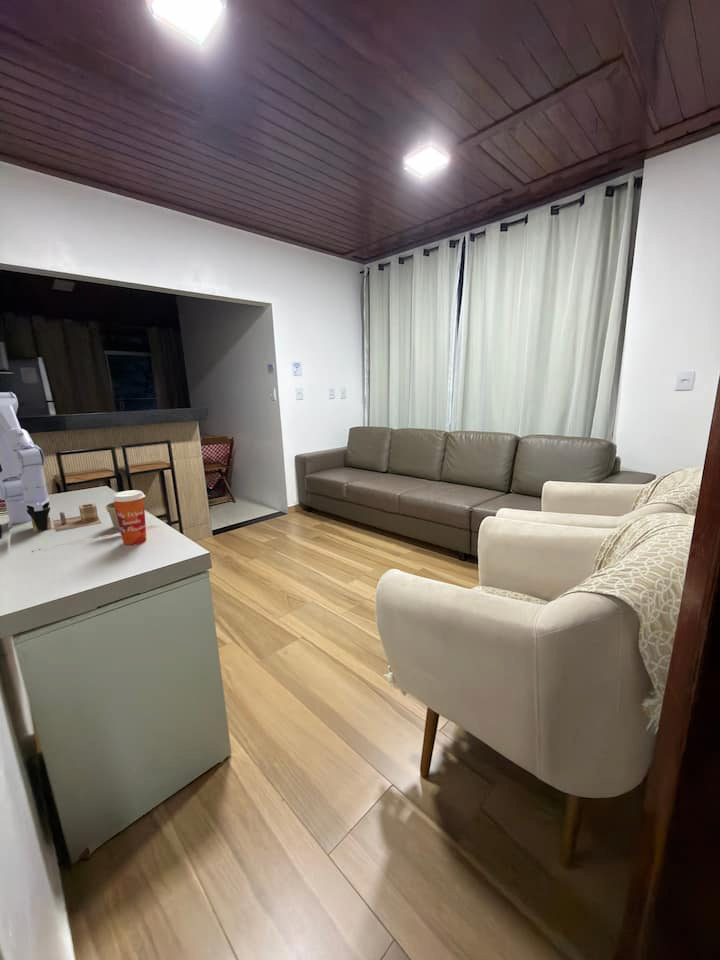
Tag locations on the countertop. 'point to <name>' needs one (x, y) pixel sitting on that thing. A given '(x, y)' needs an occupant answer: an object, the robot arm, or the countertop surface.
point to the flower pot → (113, 514)
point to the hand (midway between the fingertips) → (42, 527)
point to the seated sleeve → (88, 512)
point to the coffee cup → (131, 516)
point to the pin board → (72, 523)
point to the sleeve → (44, 529)
